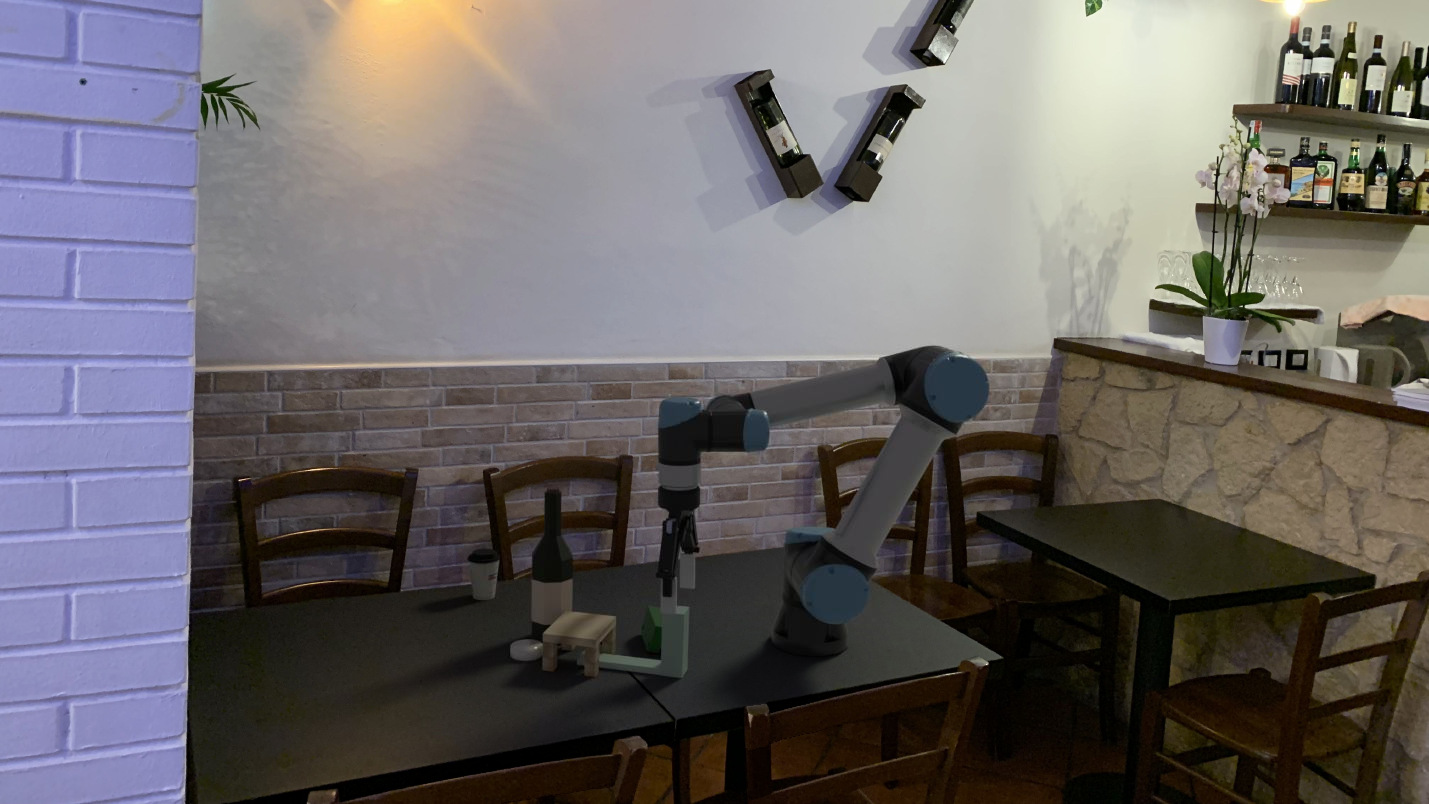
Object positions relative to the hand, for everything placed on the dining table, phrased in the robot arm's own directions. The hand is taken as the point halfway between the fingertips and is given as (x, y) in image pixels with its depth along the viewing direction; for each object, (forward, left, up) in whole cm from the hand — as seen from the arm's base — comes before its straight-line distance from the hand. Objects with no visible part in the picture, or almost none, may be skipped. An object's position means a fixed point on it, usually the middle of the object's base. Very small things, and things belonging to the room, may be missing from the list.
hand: (678, 600), depth 193 cm
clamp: (+6, -13, -14) cm, 20 cm away
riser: (+18, 0, -14) cm, 23 cm away
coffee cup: (+50, -26, -14) cm, 58 cm away
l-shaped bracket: (+8, 0, -14) cm, 16 cm away
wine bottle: (+27, -9, -14) cm, 32 cm away
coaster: (+29, 0, -14) cm, 32 cm away
